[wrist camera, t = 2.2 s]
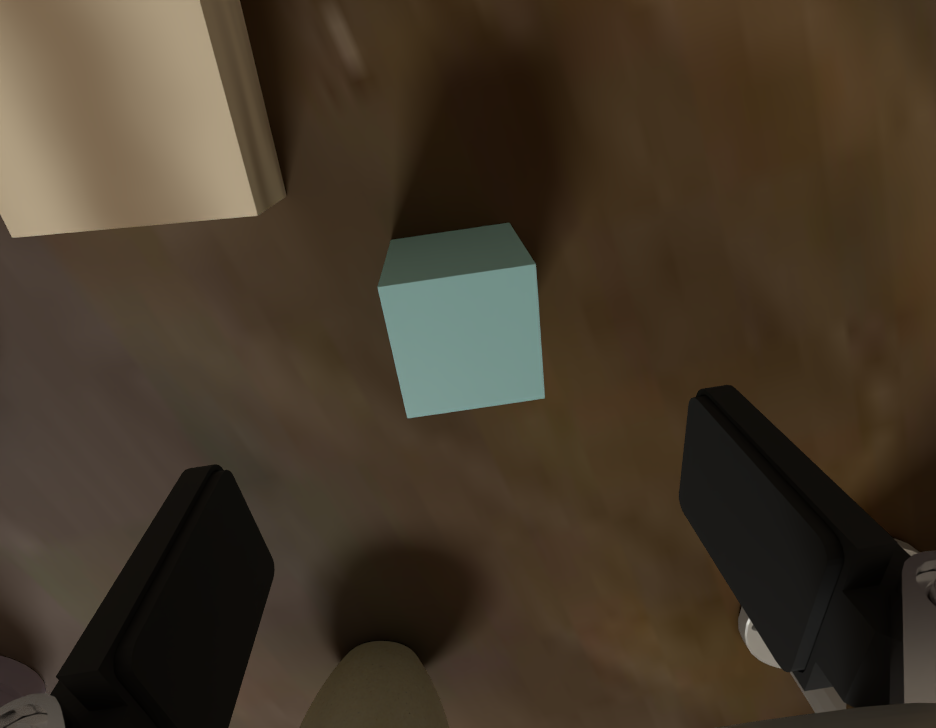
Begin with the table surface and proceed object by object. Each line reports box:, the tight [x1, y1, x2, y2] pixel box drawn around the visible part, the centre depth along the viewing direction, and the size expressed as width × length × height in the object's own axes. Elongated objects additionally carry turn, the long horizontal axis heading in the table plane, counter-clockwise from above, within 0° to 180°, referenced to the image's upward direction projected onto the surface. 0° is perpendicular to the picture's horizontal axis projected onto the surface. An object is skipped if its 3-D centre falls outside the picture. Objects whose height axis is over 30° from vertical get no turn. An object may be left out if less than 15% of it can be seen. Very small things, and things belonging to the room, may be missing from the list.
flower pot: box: [300, 641, 449, 728], centre depth 31 cm, size 10×10×7 cm
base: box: [0, 0, 286, 238], centre depth 16 cm, size 8×8×4 cm
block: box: [378, 223, 545, 418], centre depth 19 cm, size 5×5×6 cm
